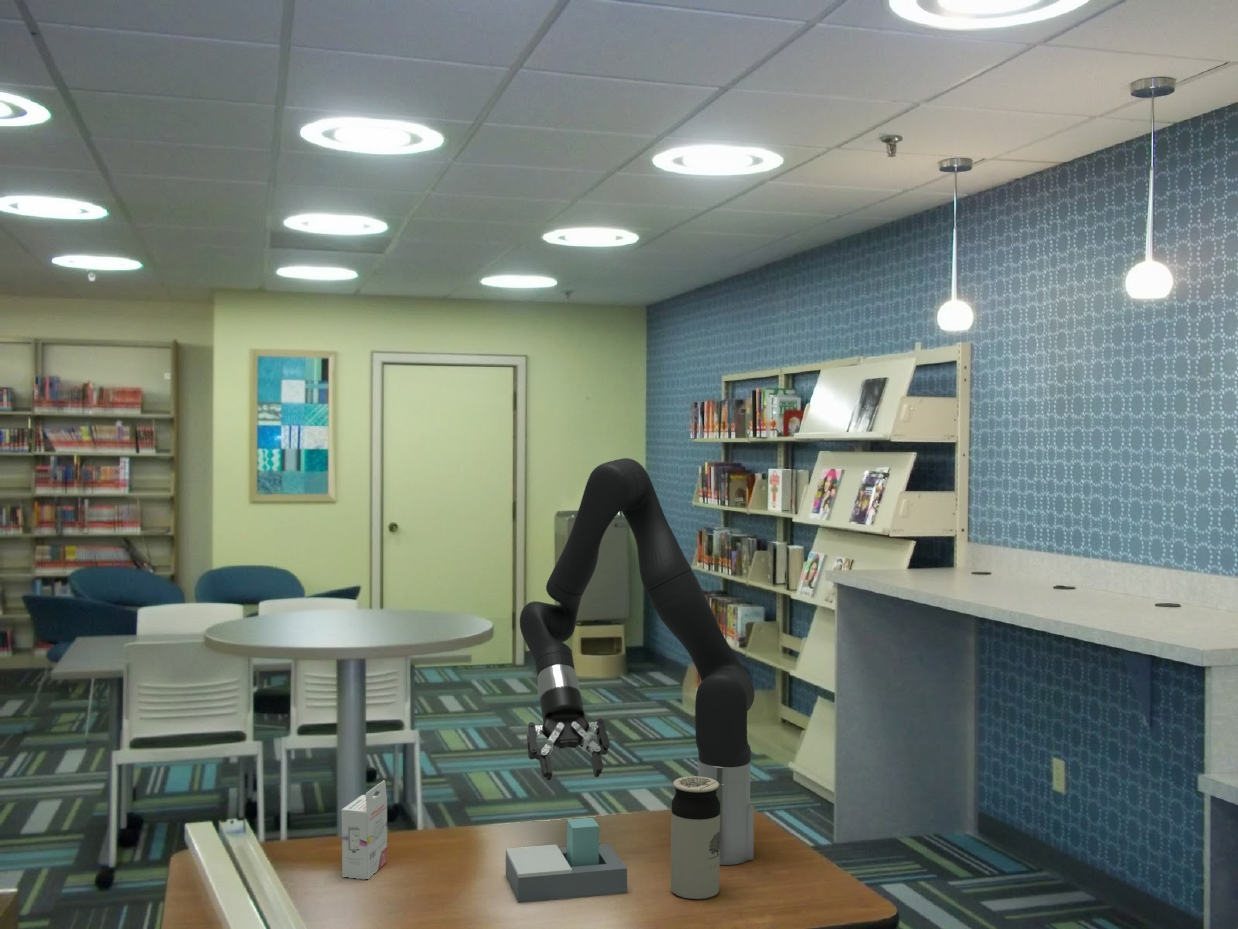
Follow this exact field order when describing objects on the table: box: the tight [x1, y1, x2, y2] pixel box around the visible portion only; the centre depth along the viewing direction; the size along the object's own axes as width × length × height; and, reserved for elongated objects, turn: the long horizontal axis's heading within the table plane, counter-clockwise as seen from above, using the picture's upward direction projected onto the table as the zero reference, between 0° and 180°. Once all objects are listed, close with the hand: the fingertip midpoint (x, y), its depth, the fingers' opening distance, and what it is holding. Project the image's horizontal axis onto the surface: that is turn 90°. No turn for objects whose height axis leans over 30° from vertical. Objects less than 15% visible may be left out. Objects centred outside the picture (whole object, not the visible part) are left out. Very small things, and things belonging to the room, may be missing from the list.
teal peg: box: [566, 817, 600, 867], centre depth 201 cm, size 4×4×10 cm
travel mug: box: [670, 775, 720, 900], centre depth 197 cm, size 8×8×18 cm
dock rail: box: [505, 843, 628, 904], centre depth 200 cm, size 18×12×5 cm, turn 105°
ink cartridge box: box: [341, 779, 388, 880], centre depth 205 cm, size 9×5×15 cm, turn 168°
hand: (573, 776), depth 208 cm, fingers open, 8 cm apart
